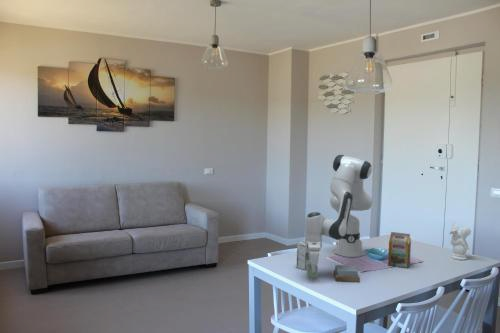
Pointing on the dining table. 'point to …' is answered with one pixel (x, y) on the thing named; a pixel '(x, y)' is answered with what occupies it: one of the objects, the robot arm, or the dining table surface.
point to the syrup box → (302, 256)
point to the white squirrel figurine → (459, 241)
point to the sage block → (309, 271)
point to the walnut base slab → (346, 278)
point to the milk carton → (399, 250)
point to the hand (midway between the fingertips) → (312, 268)
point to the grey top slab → (346, 271)
